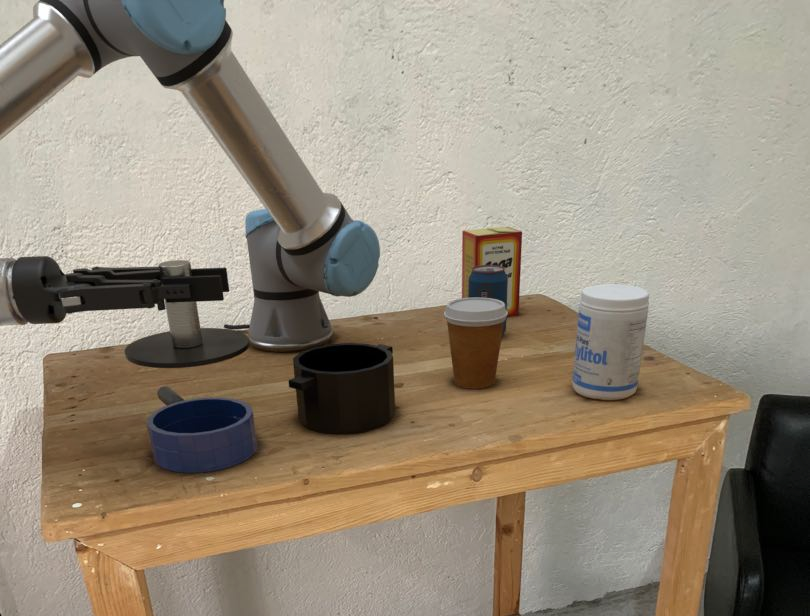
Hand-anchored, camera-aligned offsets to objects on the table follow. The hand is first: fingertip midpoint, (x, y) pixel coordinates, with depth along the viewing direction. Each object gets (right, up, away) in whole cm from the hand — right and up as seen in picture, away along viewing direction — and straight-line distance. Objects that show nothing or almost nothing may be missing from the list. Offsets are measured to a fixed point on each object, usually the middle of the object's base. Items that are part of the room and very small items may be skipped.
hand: (224, 283), depth 93 cm
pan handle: (-11, -12, +17) cm, 24 cm away
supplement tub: (+51, -8, +26) cm, 58 cm away
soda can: (+36, +7, +52) cm, 64 cm away
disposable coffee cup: (+32, -6, +31) cm, 45 cm away
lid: (-5, -7, +4) cm, 9 cm away
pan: (-5, -19, +11) cm, 22 cm away
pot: (+13, -12, +20) cm, 27 cm away
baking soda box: (+38, +15, +66) cm, 78 cm away
